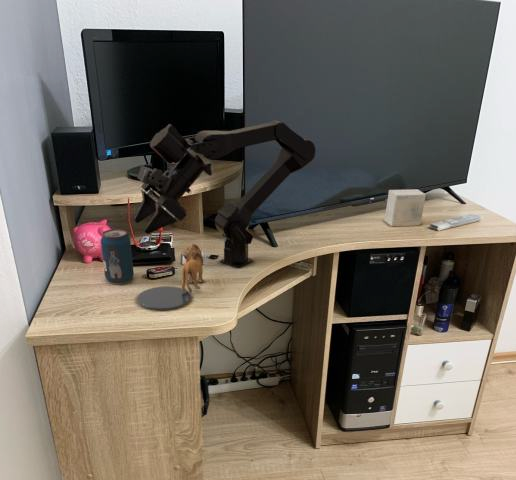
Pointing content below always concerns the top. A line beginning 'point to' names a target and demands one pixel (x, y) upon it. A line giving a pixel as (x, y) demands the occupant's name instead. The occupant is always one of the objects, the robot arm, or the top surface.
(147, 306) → the coaster
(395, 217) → the cosmetics box
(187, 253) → the lion figurine
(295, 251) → the top surface
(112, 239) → the soda can
